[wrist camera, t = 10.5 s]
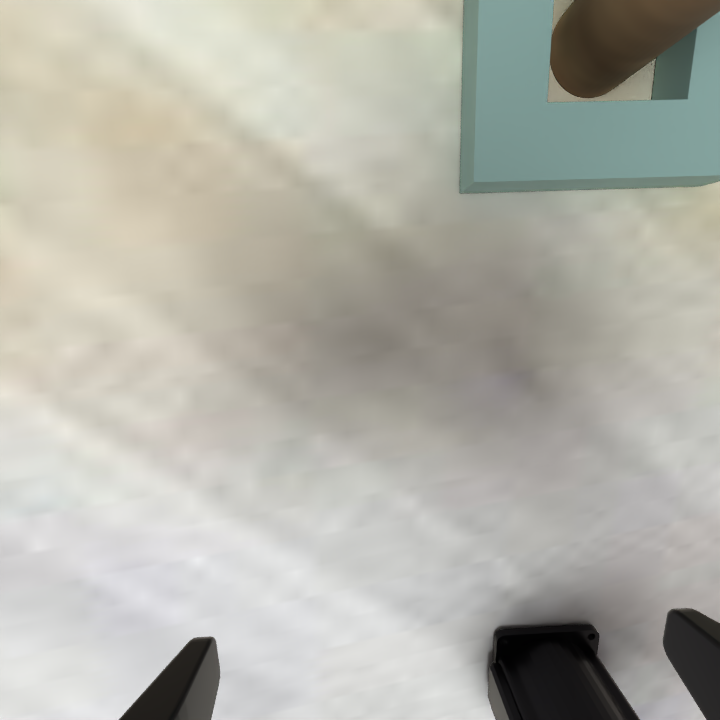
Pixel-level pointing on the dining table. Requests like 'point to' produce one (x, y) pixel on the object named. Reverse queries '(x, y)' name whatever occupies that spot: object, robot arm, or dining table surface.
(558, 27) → the dowel
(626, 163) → the square ring
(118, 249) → the dining table surface
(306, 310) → the dining table surface
